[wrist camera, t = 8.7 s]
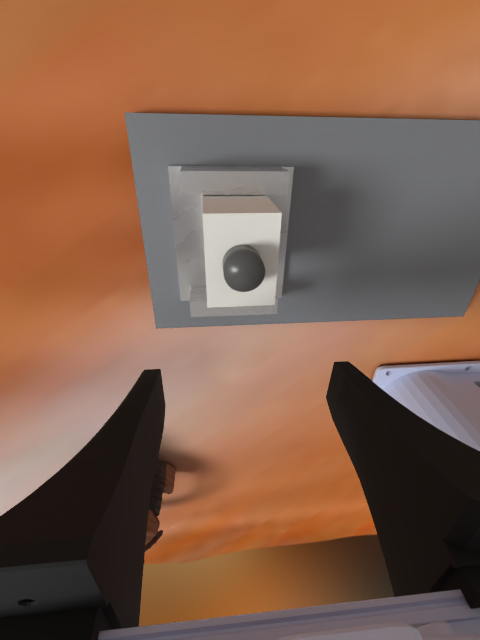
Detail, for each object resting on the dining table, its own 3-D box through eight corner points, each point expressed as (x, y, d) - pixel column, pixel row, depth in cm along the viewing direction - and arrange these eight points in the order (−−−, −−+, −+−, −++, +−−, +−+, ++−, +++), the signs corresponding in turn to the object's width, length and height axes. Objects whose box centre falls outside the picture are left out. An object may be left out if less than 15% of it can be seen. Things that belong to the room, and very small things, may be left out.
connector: (260, 188, 17) (287, 219, 11) (256, 260, 19) (279, 316, 13) (202, 188, 16) (202, 220, 11) (206, 261, 18) (207, 319, 13)
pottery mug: (198, 476, 33) (170, 575, 28) (130, 461, 37) (95, 545, 32) (127, 437, 24) (69, 571, 19) (48, 423, 28) (-16, 531, 24)
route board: (534, 122, 18) (550, 122, 17) (454, 309, 24) (463, 316, 23) (128, 113, 16) (124, 112, 15) (158, 320, 22) (156, 328, 21)
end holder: (292, 166, 17) (304, 171, 15) (280, 295, 21) (288, 313, 19) (168, 165, 16) (163, 170, 14) (180, 298, 20) (178, 317, 18)
